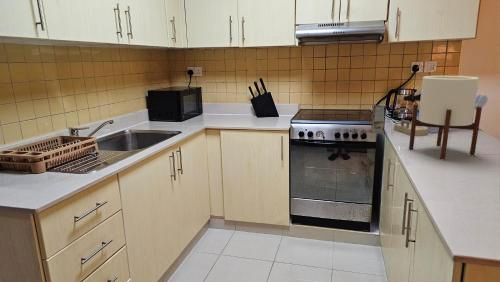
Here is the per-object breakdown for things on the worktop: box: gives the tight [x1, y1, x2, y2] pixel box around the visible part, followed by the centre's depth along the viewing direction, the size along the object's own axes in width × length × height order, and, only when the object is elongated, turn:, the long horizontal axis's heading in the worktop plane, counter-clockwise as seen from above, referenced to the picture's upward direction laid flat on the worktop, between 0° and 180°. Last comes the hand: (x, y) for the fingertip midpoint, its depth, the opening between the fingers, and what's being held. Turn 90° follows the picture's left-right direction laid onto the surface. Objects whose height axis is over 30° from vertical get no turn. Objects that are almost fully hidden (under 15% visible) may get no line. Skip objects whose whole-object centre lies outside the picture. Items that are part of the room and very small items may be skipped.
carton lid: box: [393, 119, 428, 131], centre depth 206 cm, size 10×18×5 cm, turn 11°
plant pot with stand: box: [408, 75, 483, 160], centre depth 162 cm, size 22×22×36 cm
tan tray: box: [393, 124, 429, 137], centre depth 207 cm, size 10×18×3 cm, turn 11°
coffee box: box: [371, 104, 387, 135], centre depth 208 cm, size 9×6×16 cm
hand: (408, 98), depth 202 cm, fingers open, 7 cm apart
